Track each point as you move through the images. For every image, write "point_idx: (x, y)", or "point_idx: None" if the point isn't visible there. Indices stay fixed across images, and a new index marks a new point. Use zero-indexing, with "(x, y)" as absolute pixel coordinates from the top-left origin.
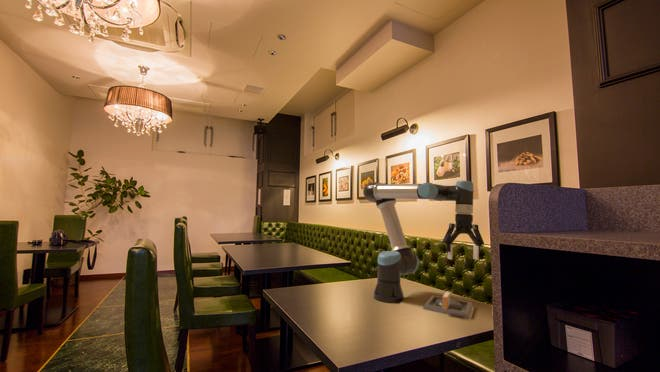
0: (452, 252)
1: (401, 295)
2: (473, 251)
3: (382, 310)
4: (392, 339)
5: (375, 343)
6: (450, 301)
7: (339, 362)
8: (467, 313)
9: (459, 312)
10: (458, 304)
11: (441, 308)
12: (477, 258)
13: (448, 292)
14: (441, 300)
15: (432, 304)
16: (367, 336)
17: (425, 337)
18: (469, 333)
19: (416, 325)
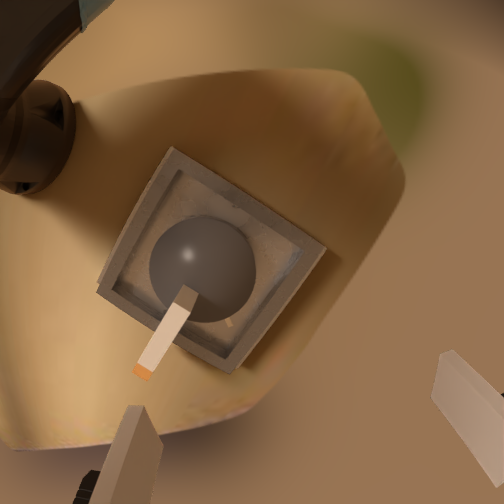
0: (149, 498)
1: (46, 170)
2: (483, 400)
3: (5, 271)
4: (40, 419)
5: (23, 422)
6: (218, 256)
7: (7, 443)
8: (227, 372)
9: (204, 359)
10: (235, 296)
11: (150, 327)
12: (439, 405)
13: (184, 309)
14: (180, 244)
15: (151, 226)
16: (8, 401)
17: (90, 426)
18: (191, 424)
19: (75, 377)
